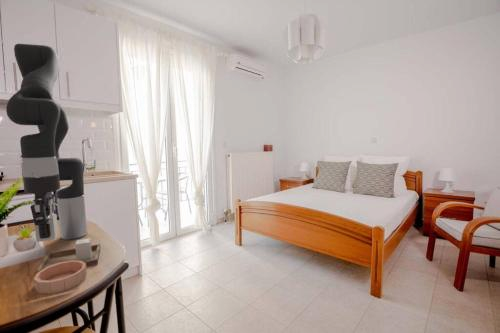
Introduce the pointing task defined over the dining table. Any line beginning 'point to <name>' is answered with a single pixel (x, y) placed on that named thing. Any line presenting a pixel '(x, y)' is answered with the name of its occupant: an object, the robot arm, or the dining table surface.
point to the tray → (68, 257)
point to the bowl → (60, 276)
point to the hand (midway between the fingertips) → (47, 234)
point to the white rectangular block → (83, 249)
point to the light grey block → (52, 229)
